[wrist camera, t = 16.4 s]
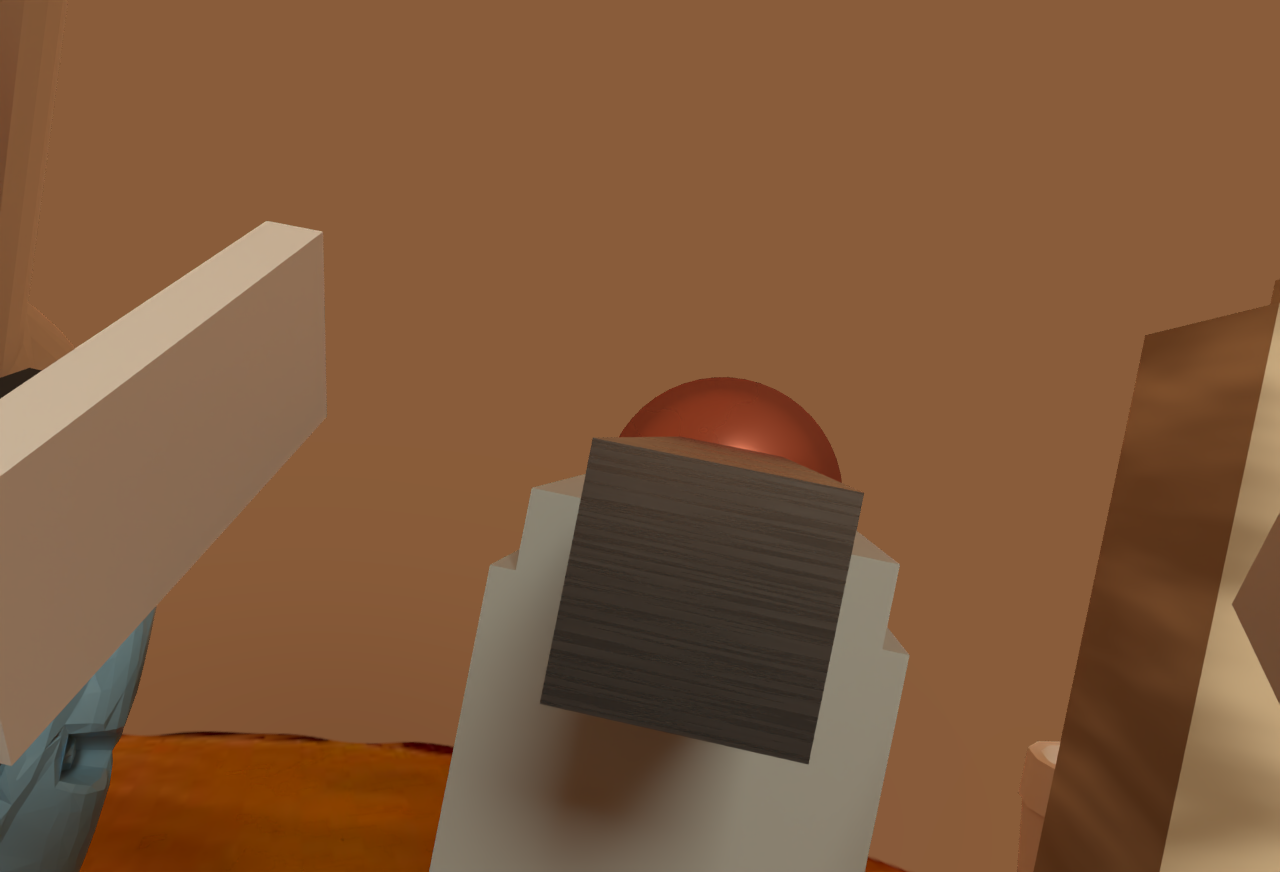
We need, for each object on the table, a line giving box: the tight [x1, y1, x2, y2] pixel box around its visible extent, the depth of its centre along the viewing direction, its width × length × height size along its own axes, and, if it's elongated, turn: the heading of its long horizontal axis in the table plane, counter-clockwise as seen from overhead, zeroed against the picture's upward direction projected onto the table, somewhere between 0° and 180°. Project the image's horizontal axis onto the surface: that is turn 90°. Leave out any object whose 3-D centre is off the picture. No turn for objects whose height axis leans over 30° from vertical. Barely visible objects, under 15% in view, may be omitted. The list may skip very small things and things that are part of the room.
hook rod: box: [540, 377, 864, 765], centre depth 23 cm, size 7×22×7 cm, turn 174°
